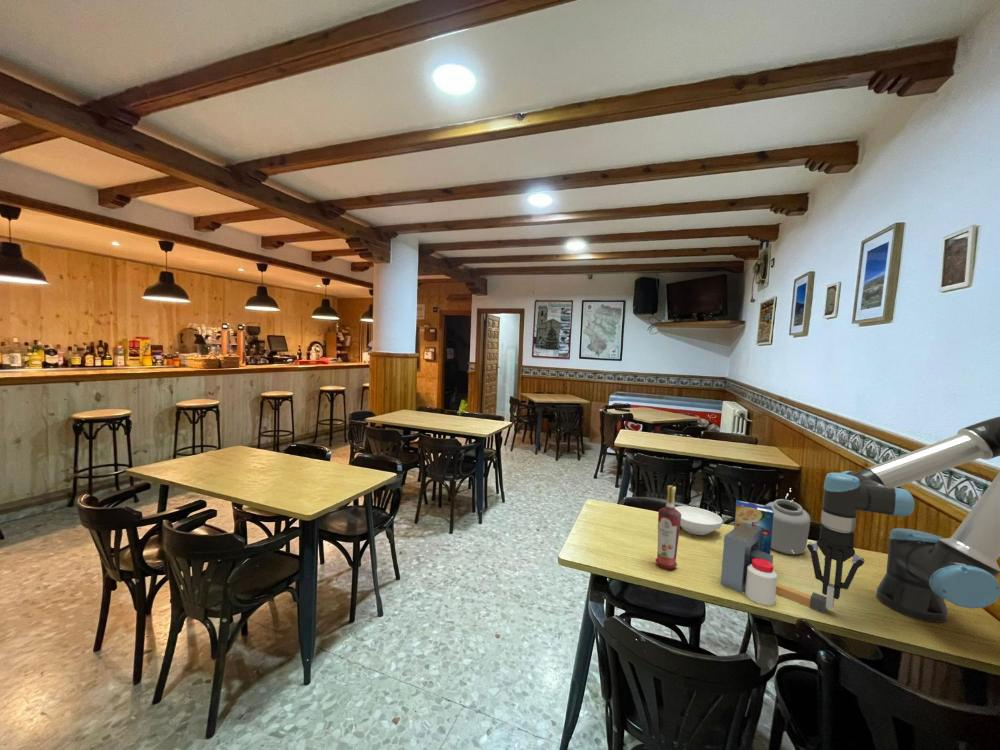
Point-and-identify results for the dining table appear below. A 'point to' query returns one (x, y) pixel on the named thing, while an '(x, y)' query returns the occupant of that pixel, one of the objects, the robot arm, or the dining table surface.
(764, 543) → the blue food box
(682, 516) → the bowl
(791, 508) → the jar
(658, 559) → the red glass bottle
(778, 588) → the hammer
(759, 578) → the pill bottle
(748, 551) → the block
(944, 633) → the dining table surface
